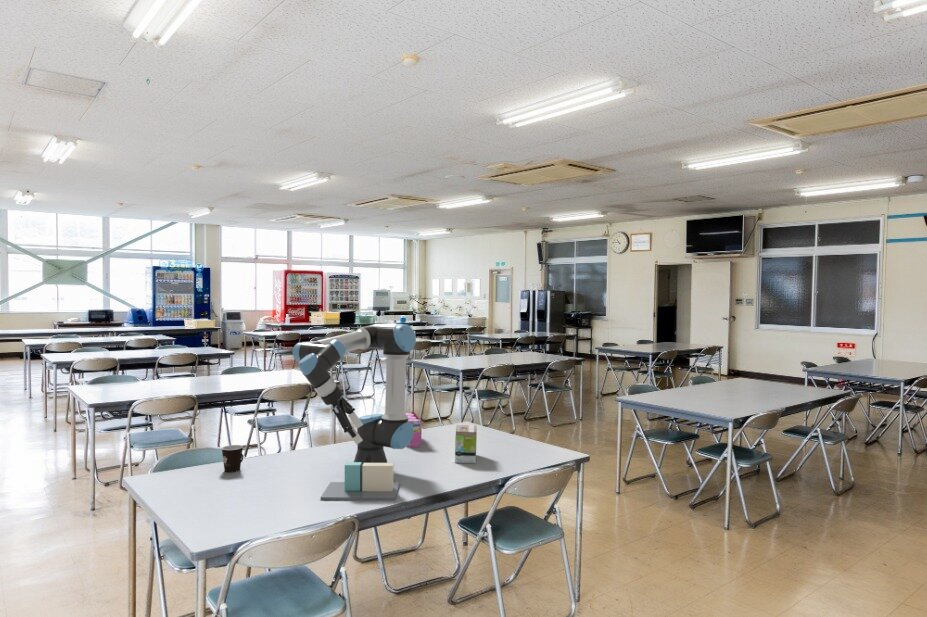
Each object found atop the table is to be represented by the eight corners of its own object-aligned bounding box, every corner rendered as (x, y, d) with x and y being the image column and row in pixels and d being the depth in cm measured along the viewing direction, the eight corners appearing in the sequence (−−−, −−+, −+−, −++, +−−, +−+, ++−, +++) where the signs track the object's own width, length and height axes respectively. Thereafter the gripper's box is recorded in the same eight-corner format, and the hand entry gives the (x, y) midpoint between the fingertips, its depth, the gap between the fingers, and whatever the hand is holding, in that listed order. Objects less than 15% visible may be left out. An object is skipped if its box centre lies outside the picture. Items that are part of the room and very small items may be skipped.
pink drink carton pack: (399, 436, 323) (399, 411, 322) (413, 435, 325) (413, 411, 324) (406, 447, 299) (406, 420, 299) (421, 446, 301) (422, 420, 301)
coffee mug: (220, 468, 261) (220, 446, 260) (241, 466, 265) (241, 444, 264) (223, 476, 250) (223, 452, 250) (244, 473, 254) (244, 450, 254)
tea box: (476, 463, 272) (476, 431, 272) (454, 463, 273) (454, 431, 272) (476, 454, 287) (476, 424, 287) (455, 454, 288) (455, 424, 287)
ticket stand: (320, 499, 223) (320, 470, 223) (330, 484, 241) (330, 457, 241) (394, 500, 223) (395, 471, 223) (399, 484, 241) (399, 458, 241)
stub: (344, 490, 230) (344, 465, 230) (346, 487, 234) (346, 462, 234) (359, 490, 230) (360, 465, 230) (361, 487, 234) (361, 462, 234)
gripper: (335, 398, 210) (368, 444, 216) (338, 374, 233) (368, 415, 240) (317, 409, 210) (350, 454, 216) (322, 384, 233) (352, 425, 240)
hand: (359, 434), depth 228 cm, fingers open, 13 cm apart
